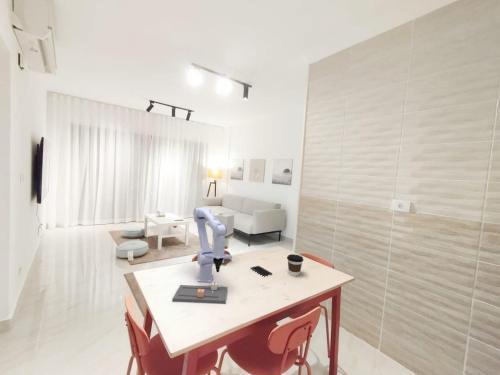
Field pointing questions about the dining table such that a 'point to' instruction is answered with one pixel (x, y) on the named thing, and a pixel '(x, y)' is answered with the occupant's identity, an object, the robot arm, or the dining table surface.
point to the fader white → (214, 285)
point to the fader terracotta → (200, 293)
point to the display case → (230, 225)
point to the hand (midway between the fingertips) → (217, 271)
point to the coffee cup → (294, 264)
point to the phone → (261, 271)
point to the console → (210, 296)
